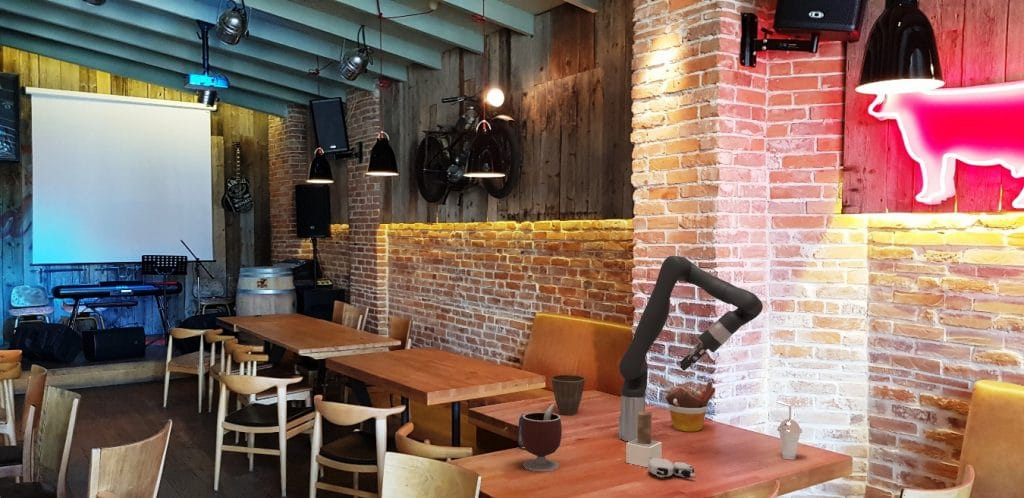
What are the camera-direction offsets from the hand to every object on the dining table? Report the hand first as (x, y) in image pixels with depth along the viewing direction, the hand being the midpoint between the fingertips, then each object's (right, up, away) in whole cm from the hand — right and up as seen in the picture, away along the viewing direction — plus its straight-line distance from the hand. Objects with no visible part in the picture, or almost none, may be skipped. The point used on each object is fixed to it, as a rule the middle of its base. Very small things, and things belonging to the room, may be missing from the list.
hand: (681, 366), depth 264 cm
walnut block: (-14, -25, -6) cm, 30 cm away
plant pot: (-36, -32, +66) cm, 81 cm away
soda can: (-55, -32, +11) cm, 64 cm away
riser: (-15, -32, -6) cm, 36 cm away
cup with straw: (+39, -33, +2) cm, 51 cm away
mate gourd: (-50, -32, -11) cm, 61 cm away
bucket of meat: (+12, -33, +42) cm, 54 cm away
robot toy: (-8, -33, -20) cm, 39 cm away
